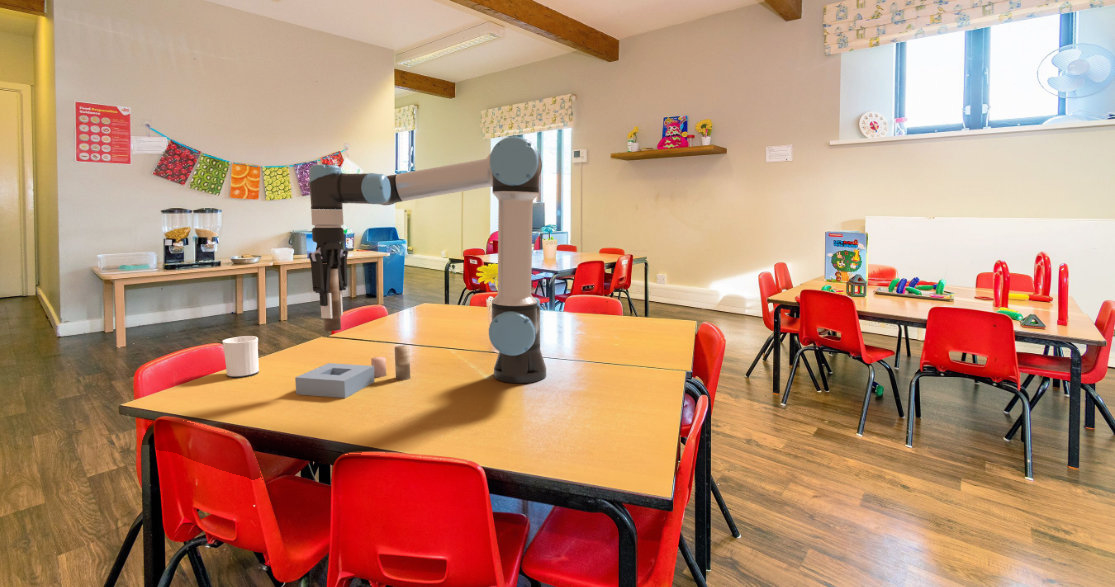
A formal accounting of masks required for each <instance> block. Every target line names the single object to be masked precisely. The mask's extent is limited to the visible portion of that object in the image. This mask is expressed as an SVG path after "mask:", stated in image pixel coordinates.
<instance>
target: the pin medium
mask: <svg viewBox="0 0 1115 587" xmlns="http://www.w3.org/2000/svg"><path fill="white" fill-rule="evenodd" d="M410 357H411V356H410V345H396V346H394V363H395V364H394V367H395V380H397V381H405V380H406V381H407V380H409V379H411V360H410V359H411V358H410Z"/></svg>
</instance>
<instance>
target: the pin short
mask: <svg viewBox="0 0 1115 587" xmlns="http://www.w3.org/2000/svg"><path fill="white" fill-rule="evenodd" d="M370 361H371V365H370V366H374V378H384V377H385V376H387V358H386V357H385V356H375V357H372V358H371V359H370Z"/></svg>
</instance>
